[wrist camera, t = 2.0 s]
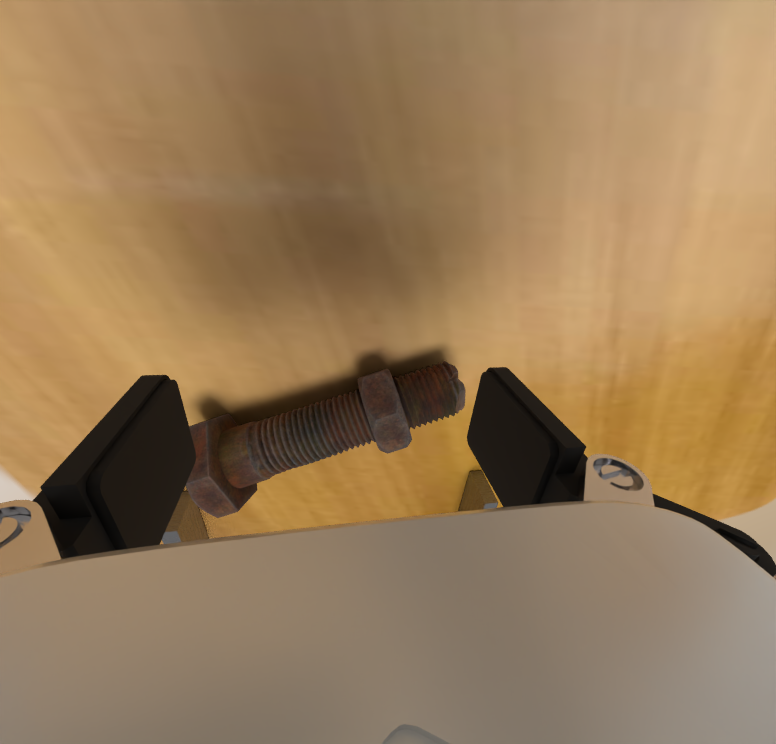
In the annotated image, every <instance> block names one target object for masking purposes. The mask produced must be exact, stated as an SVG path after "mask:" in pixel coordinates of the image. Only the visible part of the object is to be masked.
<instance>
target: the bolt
mask: <svg viewBox="0 0 776 744" xmlns="http://www.w3.org/2000/svg"><path fill="white" fill-rule="evenodd" d="M358 386H359V391H360V392H359V391H357V390H355V392H354V393H352V392H351V391H350V392H349V395H347V394H346V393H344V395H343V397H342V396H340V395H338V398H335V397H332V400H330V399H327V400H326V402H325V401H323V400H322V401H321V403H318V402H316V403H315V405H314V404H310V405H309V407H308V406H304V408H301V407H300V408H298V410H296V409H294V410H292V412H291V411H289V412H287V413H282V414H281V415H276V416H275V417H273V416H272V417H270V418H269V419H268V418H266V419H264V420H260V421H257V422H256V421H252V422H249V423H246V424H243V425H240V426H237V424H236V423H235V421H234V420H233V418H232V417H231V415H230V414H229V413H228V414H225V415H222V416H218V417H215V418H212V419H209V420H206V421H203V422H201V423H198V424H195V425H192V426H190V427H189V429H190V432H191V436H192V440H193V444H194V447H195V451H196V461H195V464H194V467H193V469H192V471H191V474H190V476H189V478H188V481H187V483H186V487H187V490H188V492H189V494H190V497H191V499H192V500H193V501H194V503H195V504H196V505H197V506H198V507H199V508H201V509H202V510H204V511H205V512H207V513H209V514H211V515H213V516H215V517H217V518H219V517H222V516H225V515H229V514H232V513H235V512H238V511H239V510H240V509H241V507H242V506H243V505H244V504H245V503H246V502H247V501H248V500H249V499H250V497H251V496H252V495H253V494H254V493H255V492H256V491H257V483H258V482H261V481H264V480H267V479H270V478H271V477H272V476H274V475H275V474H279V473H281V472H285V471H286V470H290V469H292V468H297V467H299V466H303V465H307V464H309V463H313V462H315V461H319V460H320V459H325V458H326V457H331V456H332V454H333V455H337V453H338V452H339V453H342V452H343V450H345V451H348V449H349V447H350V448H351V449H353V448H354V446H357V447H359V445H360V444H362V445H363V446H364V445H365V443H366V442H367V443H368V444H370V442H371V440H372V441H374V442H376V443H377V446H378V448H379V450H380V451H383V452H385V453H391V452H394V451H397V450H400V449H403V448H406V447H407V446H408V445H409V444H410V442H411V440H412V437H411V434H410V427H412V428H414V429H415V427H416V425H417V426H419V427H421V423H422V424H424V425H426V423H427V421H428V422H429V423H431V424H432V420H435V421H438V418H440V419H442V420H443V418H444V416H445V417H447V418H449V415H452V416H454V415H455V413H457V414H458V412H459V410H462V409H463V408H464V405H465V387H464V384H463V383H462V382H461V381H460V380H459V379H458V371H457V369H456V368H455V366H453V365H451V364H449V363H447V362H446V361H443V363H442V364H441V363H437V365H434V364H433V365H432V367H431V368H430V367H429V366H428V367H427V368H426V370H425V369H424V368H422V369H421V371H418V370H416V372H415V373H413V372H410V374H409V375H408V374H406V373H405V375H404V377H403V376H401V375H400V376H399V378H398V379H397V378H396V377H394V379H393V378H392V376H391V373H390V371H389V369H384V370H381V371H377V372H374V373H371V374H368V375H365V376H362V377H360V378H358Z"/></svg>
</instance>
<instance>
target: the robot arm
mask: <svg viewBox="0 0 776 744" xmlns="http://www.w3.org/2000/svg"><path fill="white" fill-rule="evenodd" d="M467 441H468V445H469V447H470V448H471V450H472V452H473V454H474V456H475V457H476V459H477V461H478V463H479V464H480V466H481V468H482V470H483V471H484V473H485V475H486V477H487V479H488V480H489V482H490V484H491V486H492V487H493V489H494V491H495V493H496V495H497V496H498V498H499V500H500V502H501V503H502V505H503V507H501V508H491V509H481V510H471V511H461V512H451V513H441V514H432V515H422V516H412V517H403V518H394V519H384V520H375V521H365V522H356V523H347V524H337V525H328V526H319V527H310V528H301V529H292V530H283V531H274V532H265V533H256V534H247V535H238V536H230V537H221V538H212V539H203V540H194V541H186V542H178V543H170V544H161V545H159V544H160V542H161V540H162V538H163V535H164V533H165V531H166V528H167V526H168V524H169V522H170V519H171V517H172V515H173V512H174V510H175V508H176V506H177V503H178V501H179V499H180V496H181V494H182V492H183V490H184V487H185V485H186V483H187V481H188V478H189V476H190V474H191V471H192V469H193V467H194V464H195V461H196V451H195V447H194V444H193V440H192V436H191V432H190V429H189V425H188V421H187V418H186V414H185V410H184V406H183V403H182V399H181V395H180V392H179V388H178V384H177V382H176V381H175V380H170V378H169V377H168V376H167V375H144V376H141V377H140V378H139V379H138V380H137V381H136V382H135V384H134V385H133V386H132V387H131V388H130V389H129V390H128V391H127V392H126V393H125V395H124V396H123V397H122V398H121V399H120V400H119V401H118V402H117V403H116V404H115V406H114V407H113V408H112V409H111V410H110V411H109V412H108V413H107V414H106V415H105V417H104V418H103V419H102V420H101V421H100V422H99V423H98V424H97V425H96V426H95V428H94V429H93V430H92V431H91V432H90V433H89V434H88V435H87V436H86V437H85V439H84V440H83V441H82V442H81V443H80V444H79V445H78V446H77V447H76V448H75V450H74V451H73V452H72V453H71V454H70V455H69V456H68V457H67V458H66V459H65V461H64V462H63V463H62V464H61V465H60V466H59V467H58V468H57V469H56V470H55V472H54V473H53V474H52V475H51V476H50V477H49V478H48V479H47V480H46V481H45V483H44V484H43V485H42V486H41V489H42V491H41V492H40V493H39V494H38V495H37V497H36V498H35V499H34V500H33V501H30V500H14V501H9V502H5V503H0V744H776V565H775V563H774V561H773V560H772V557H771V556H770V555H769V554H768V553H767V552H766V551H765V550H764V548H762V547H761V546H760V545H759V544H757V542H756V541H755V540H754V539H752V538H751V537H750V536H749V535H747V534H746V533H744V532H742V531H740V530H738V529H736V528H733V527H731V526H729V525H726V524H724V523H722V522H719V521H717V520H714V519H712V518H710V517H707V516H705V515H703V514H700V513H698V512H695V511H693V510H691V509H688V508H686V507H683V506H681V505H679V504H676V503H674V502H672V501H669V500H667V499H664V498H662V497H660V496H657V495H655V494H652V488H651V484H650V482H649V479H648V478H647V477H646V476H645V475H644V473H643V472H641V471H640V470H639V469H638V468H637V467H635V466H634V465H632V464H630V463H629V462H627V461H625V460H623V459H620V458H618V457H615V456H611V455H607V454H595V455H592V456H590V457H589V458H587V457H586V456H585V454H584V451H585V448H586V446H585V445H584V444H583V443H582V442H581V441H580V440H579V439H578V438H577V437H576V436H575V435H574V434H573V433H572V432H571V431H570V430H569V429H568V428H567V427H566V426H565V425H564V424H563V423H562V422H561V421H560V420H559V419H558V418H557V417H556V416H555V415H554V414H553V413H552V412H551V411H550V410H549V409H548V408H547V407H546V406H545V405H544V404H543V403H542V402H541V401H540V400H539V399H538V398H537V397H536V396H535V395H534V394H533V393H532V392H531V391H530V390H529V389H528V388H527V387H526V386H525V385H524V384H523V383H522V382H521V381H520V380H519V379H518V378H517V377H516V376H515V375H514V374H513V373H512V372H511V371H510V370H509V369H508V368H506V367H499V368H488V369H487V371H486V372H484V373H483V374H482V376H481V379H480V383H479V388H478V392H477V396H476V400H475V405H474V409H473V413H472V417H471V422H470V426H469V430H468V434H467Z"/></svg>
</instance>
